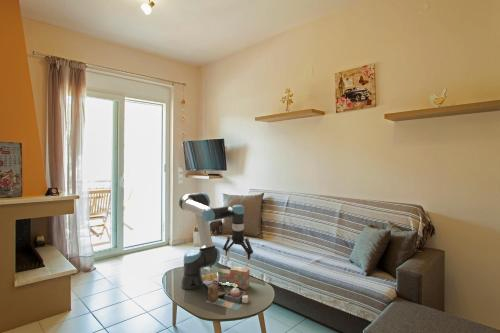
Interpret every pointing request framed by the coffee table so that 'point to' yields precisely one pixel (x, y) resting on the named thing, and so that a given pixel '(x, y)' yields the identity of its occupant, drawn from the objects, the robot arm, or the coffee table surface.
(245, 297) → the ivory die
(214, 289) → the walnut block
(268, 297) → the coffee table surface
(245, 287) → the stack of blocks
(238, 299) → the dome housing
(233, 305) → the track mat
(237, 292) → the dome
